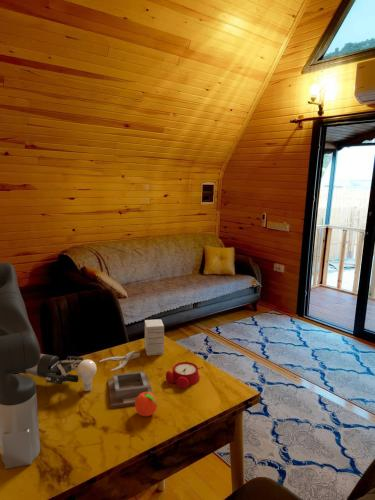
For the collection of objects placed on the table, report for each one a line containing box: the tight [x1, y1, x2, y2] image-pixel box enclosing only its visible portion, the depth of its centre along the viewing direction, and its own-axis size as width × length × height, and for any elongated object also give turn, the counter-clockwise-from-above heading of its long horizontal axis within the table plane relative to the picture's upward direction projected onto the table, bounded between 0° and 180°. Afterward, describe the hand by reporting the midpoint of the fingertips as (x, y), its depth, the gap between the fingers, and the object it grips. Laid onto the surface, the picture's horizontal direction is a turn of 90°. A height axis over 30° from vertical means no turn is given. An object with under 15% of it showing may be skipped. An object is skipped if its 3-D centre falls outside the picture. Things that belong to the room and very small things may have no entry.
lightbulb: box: [76, 359, 97, 392], centre depth 125 cm, size 6×6×11 cm
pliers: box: [98, 350, 141, 372], centre depth 147 cm, size 10×2×15 cm
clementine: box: [134, 392, 158, 417], centre depth 114 cm, size 8×7×7 cm
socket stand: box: [107, 370, 154, 409], centre depth 126 cm, size 16×14×4 cm
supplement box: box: [144, 319, 165, 356], centre depth 154 cm, size 7×7×13 cm
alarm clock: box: [165, 360, 204, 389], centre depth 133 cm, size 10×6×15 cm
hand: (84, 372), depth 125 cm, fingers open, 8 cm apart
